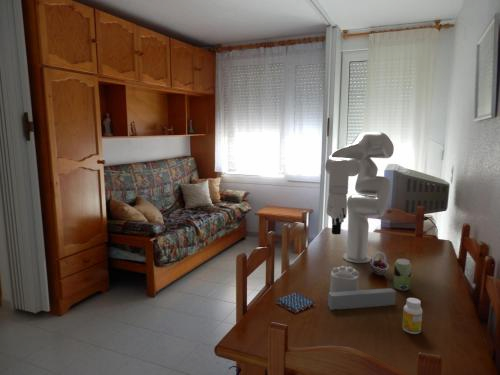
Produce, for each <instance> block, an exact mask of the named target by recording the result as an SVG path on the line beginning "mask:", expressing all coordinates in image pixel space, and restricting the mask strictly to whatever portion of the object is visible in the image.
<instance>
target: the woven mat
mask: <svg viewBox="0 0 500 375" xmlns="http://www.w3.org/2000/svg"><path fill="white" fill-rule="evenodd" d="M275 302H276V304H277V305H279V306H280V307H281V308H285V309H286V310H287V311H289V310H290V312H291V311H292V313H293V312H295V313H300V312H299V311H301V310H303V311H305V310H306V308H308V307H309V308H308V309H310V308H311V307H310V306H312V305H313V306H312V307H315V306H316V302H315V301H314V300H313V299H311V298H307V296H304V295H301V294H300V293H298V292H295V293H294V292H293V293H291V294H289V295H285V296H283V297H280V298H277V299H276V301H275ZM304 309H305V310H304Z"/></svg>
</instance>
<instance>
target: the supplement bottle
mask: <svg viewBox="0 0 500 375" xmlns="http://www.w3.org/2000/svg"><path fill="white" fill-rule="evenodd" d="M405 303H406V304H405V305H404V306H403V314H402V325H401V327H402V330H403V331H405V332H406V333H408V334H412V335H417V334H419V333H421V332H422V322H423V309H422V307H421V300H420V299H418V298H416V297H408V298H406V302H405Z"/></svg>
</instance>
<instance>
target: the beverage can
mask: <svg viewBox="0 0 500 375" xmlns="http://www.w3.org/2000/svg"><path fill="white" fill-rule="evenodd" d="M393 267H394V269H393V270H394V271H393V287H394V288H395V289H396V290H399V291H403V292H405V291H407V290H409V289H410V288H411V279H412V278H411V277H412V263H411V262H410V260H409V259H407V258H397V259H396V261H395V262H394V266H393Z"/></svg>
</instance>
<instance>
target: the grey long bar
mask: <svg viewBox="0 0 500 375" xmlns="http://www.w3.org/2000/svg"><path fill="white" fill-rule="evenodd" d="M327 294H328V295H327V307H328V306H329V307H328V309H329V310H330V311H333V310H335V309H337V310H346V309H348V308H349V309H358V308H360V309H361V308H373V307H384V306H385V307H386V306H395V305H396V296H397V295H396V294H397V291H396V290H394V289H393V288H392V287H390V288H375V289H373V288H372V289H361V290H360V289H358V291H343V292H330V291H329V292H327Z"/></svg>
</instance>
